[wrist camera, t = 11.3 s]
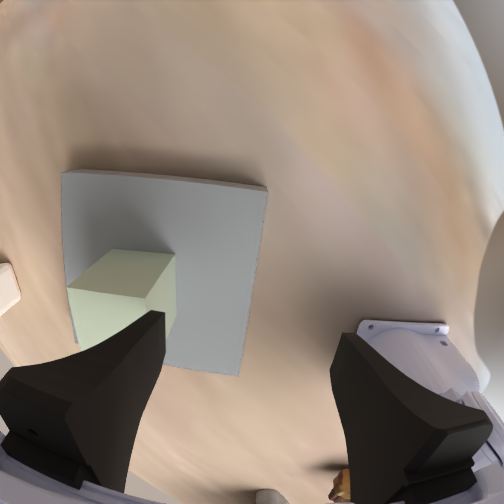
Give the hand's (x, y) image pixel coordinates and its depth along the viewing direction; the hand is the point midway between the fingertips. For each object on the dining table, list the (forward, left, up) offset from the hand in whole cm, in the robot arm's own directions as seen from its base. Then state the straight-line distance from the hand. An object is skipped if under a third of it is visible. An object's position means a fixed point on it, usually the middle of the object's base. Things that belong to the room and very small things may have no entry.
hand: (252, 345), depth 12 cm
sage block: (+7, +2, -8) cm, 11 cm away
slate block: (+7, +2, -11) cm, 13 cm away
